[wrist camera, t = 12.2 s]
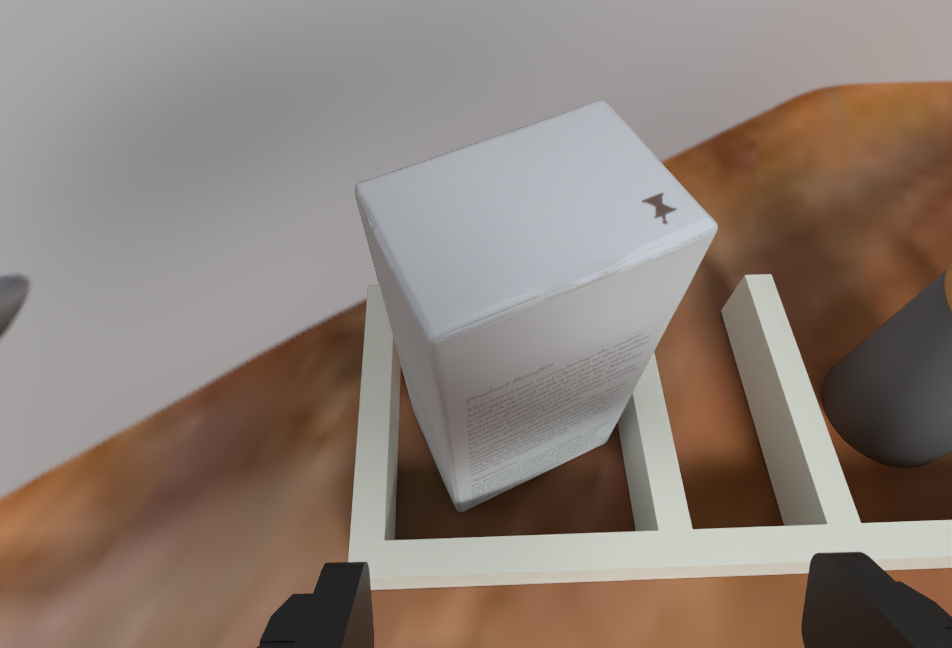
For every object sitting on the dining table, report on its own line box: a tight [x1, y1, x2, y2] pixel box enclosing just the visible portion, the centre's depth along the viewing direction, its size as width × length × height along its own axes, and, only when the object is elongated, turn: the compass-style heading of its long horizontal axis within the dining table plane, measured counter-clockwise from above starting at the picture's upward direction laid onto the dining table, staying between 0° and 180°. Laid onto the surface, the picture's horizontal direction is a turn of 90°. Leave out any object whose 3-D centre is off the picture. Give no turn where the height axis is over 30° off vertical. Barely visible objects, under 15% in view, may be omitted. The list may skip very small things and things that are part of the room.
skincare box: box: [355, 100, 718, 512], centre depth 16 cm, size 6×4×12 cm
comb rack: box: [348, 274, 952, 590], centre depth 20 cm, size 24×10×2 cm, turn 92°
